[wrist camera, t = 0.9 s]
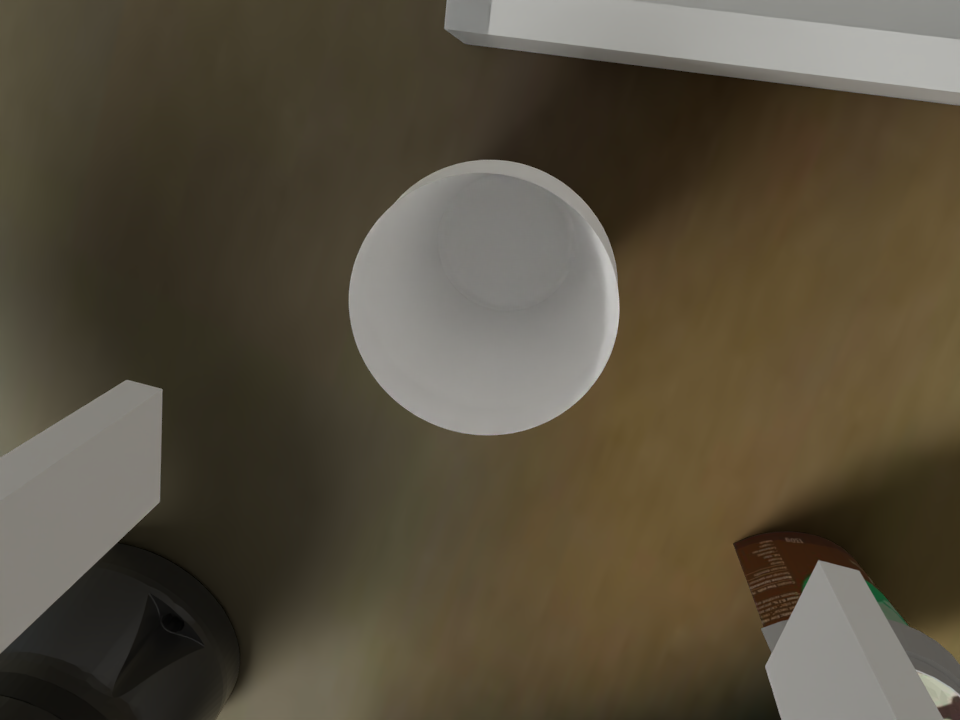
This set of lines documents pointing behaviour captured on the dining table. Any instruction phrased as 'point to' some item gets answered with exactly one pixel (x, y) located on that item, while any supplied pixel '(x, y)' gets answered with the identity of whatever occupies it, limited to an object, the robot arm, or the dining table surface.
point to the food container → (783, 576)
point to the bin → (740, 39)
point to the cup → (486, 298)
